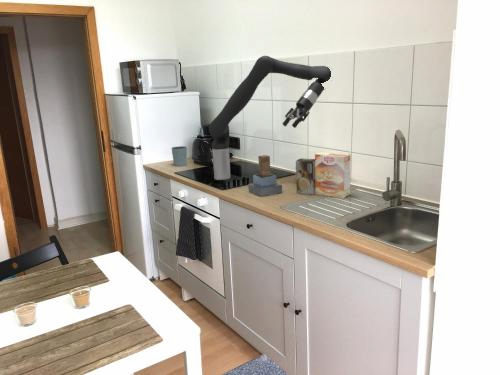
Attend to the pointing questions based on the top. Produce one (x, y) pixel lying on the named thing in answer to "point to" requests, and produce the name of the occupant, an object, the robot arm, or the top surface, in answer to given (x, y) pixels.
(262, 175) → the walnut rail
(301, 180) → the coffee box
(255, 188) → the cup bracket
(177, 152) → the grey-blue cup
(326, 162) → the coffeecake box
